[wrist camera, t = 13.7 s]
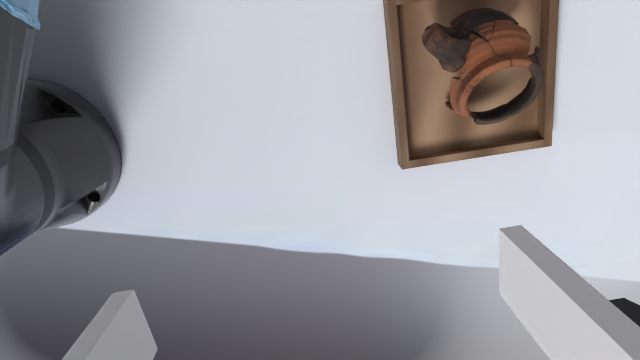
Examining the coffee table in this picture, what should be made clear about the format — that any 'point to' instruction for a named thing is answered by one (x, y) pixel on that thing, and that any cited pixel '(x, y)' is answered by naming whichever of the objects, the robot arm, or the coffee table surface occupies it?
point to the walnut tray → (495, 90)
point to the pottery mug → (484, 59)
